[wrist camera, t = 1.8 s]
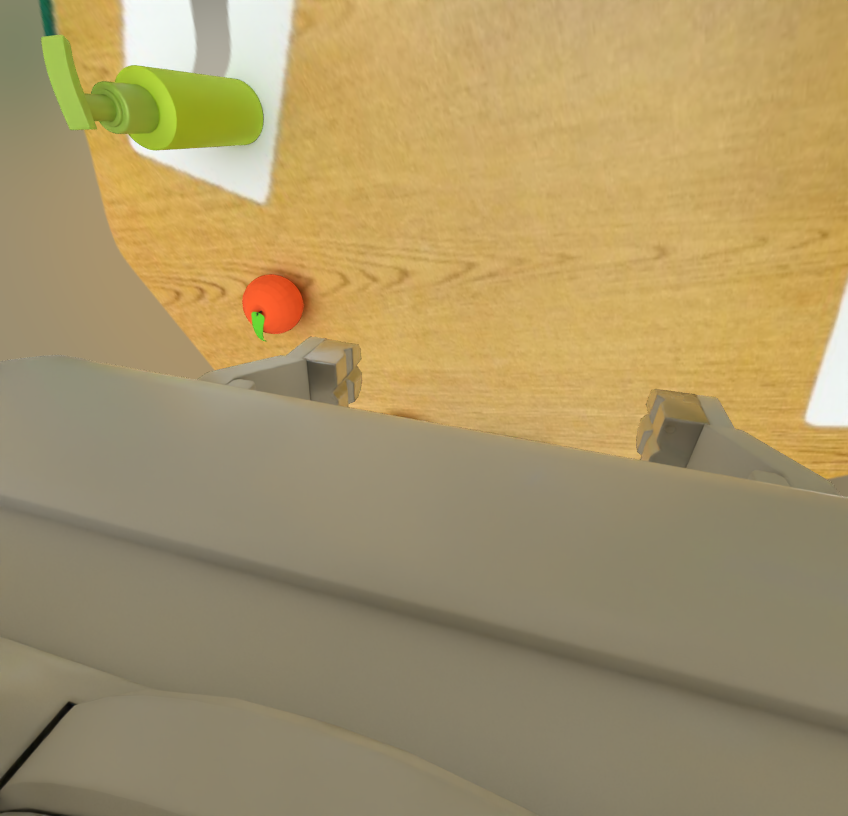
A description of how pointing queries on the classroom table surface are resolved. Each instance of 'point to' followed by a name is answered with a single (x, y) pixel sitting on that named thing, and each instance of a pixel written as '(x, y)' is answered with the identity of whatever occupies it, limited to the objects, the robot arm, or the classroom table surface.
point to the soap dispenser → (156, 104)
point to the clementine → (272, 304)
